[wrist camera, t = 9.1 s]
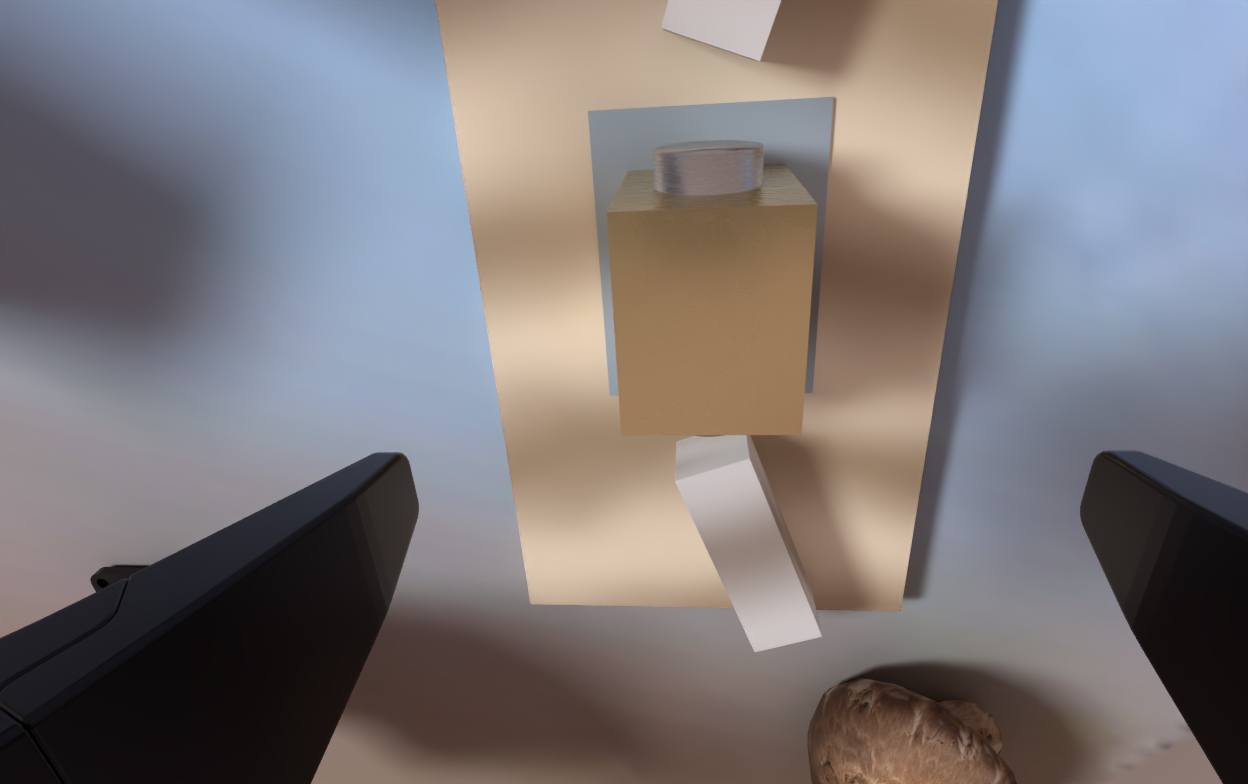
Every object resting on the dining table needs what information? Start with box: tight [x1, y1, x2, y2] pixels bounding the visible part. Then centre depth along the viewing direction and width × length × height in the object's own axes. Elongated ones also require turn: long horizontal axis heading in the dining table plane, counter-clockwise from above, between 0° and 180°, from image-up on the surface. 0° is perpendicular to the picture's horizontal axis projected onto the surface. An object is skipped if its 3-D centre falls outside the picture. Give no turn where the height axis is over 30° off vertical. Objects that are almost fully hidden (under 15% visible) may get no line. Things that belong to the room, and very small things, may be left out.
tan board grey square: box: [435, 0, 998, 652], centre depth 18 cm, size 25×13×3 cm, turn 4°
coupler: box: [607, 140, 818, 437], centre depth 16 cm, size 7×4×5 cm, turn 3°
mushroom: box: [808, 678, 1017, 784], centre depth 25 cm, size 8×8×6 cm
